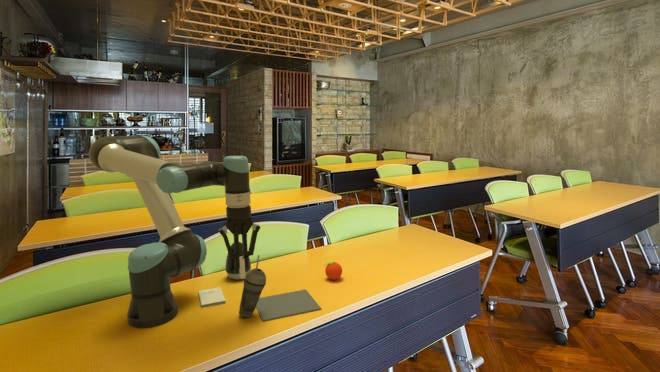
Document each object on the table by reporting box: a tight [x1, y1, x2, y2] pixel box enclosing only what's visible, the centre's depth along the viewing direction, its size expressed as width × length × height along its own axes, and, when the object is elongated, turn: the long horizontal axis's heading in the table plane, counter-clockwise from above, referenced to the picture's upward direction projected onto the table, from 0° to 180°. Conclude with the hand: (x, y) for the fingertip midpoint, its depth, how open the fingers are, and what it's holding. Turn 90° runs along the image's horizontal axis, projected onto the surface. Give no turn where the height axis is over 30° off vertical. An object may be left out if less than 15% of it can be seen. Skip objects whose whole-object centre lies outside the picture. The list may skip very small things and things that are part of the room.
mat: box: [255, 289, 322, 322], centre depth 130 cm, size 20×16×1 cm
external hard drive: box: [197, 286, 227, 309], centre depth 136 cm, size 2×8×12 cm
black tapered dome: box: [224, 241, 252, 281], centre depth 153 cm, size 10×10×15 cm
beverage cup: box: [238, 255, 267, 318], centre depth 122 cm, size 7×7×20 cm
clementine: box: [323, 261, 343, 281], centre depth 151 cm, size 8×7×7 cm
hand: (242, 277), depth 120 cm, fingers closed
